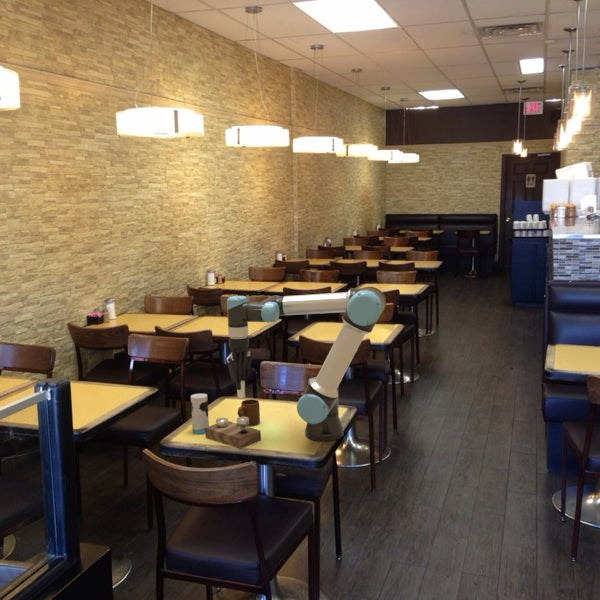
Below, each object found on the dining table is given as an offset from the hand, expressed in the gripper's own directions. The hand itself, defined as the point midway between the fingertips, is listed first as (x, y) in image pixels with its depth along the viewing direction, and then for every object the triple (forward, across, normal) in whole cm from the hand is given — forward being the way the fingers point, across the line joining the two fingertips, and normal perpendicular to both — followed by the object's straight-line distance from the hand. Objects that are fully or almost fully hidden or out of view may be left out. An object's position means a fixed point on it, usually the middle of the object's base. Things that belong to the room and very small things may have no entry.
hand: (241, 397), depth 256 cm
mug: (+18, -15, -13) cm, 27 cm away
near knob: (+14, 0, 0) cm, 14 cm away
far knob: (+17, 0, -12) cm, 21 cm away
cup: (+18, +2, -23) cm, 29 cm away
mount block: (+18, 0, -6) cm, 19 cm away
